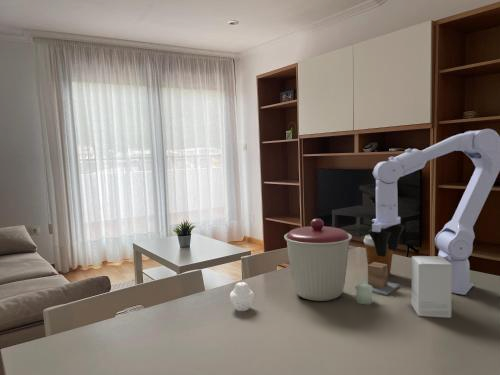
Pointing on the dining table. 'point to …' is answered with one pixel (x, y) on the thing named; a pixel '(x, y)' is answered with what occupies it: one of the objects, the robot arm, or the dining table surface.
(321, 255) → the canister
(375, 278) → the walnut block
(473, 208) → the robot arm
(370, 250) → the disposable coffee cup
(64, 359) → the dining table surface
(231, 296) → the white rounded piece
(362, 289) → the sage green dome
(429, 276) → the supplement box
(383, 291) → the slate mat
